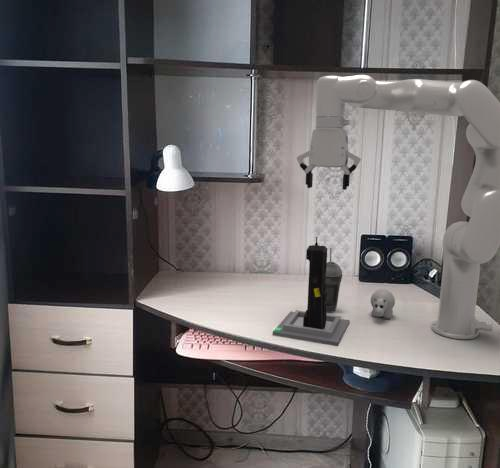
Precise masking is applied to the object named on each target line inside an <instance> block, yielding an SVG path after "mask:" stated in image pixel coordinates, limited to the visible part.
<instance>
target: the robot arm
mask: <svg viewBox="0 0 500 468" xmlns="http://www.w3.org/2000/svg"><path fill="white" fill-rule="evenodd" d="M315 101H316V104H315V106H316V108H315V129H313V130H312V133H311V137H310V144H309V150H308V151H306V152H304V153H302V154H301V155H300V154H299V155H298V156H297V157H296V160H297V162H298V164H299V167H300V168H301V170H302V171H304V173H305V185H306V186H307V189H311V188H312V187H313V182H314V181H313V179H314V178H313V177H314V174H313V170H314V169H315V168H316V167H317V168H341V170H342V171H343V173H344V174H343V175H342V190H344V191H345V190H347V189H348V187H350V177H351V176H350V175H351V174H352V173H353V172H354V171H355V170H356V169H357V168H358V167H359V164H360V163H361V161H362V159H361V157H359V156H357V155H355V154H353V153H352V152H350V151H349V138H348V130H347V129H345V127H346V126H350V124H351V123H350V119H346V117H345V113H346V112H345V111H346V110H345V109H346V104H347V105H348V106H350V107H354V108H360V109H361V108H362V109H371V110H383V111H384V110H385V111H395V112H403V113H417V114H428V115H429V114H431V115H439V116H448V117H463V116H464V118H465V119H466V120H467V122H468V123H469V124H468V125H467V127H466V131H465V135H466V140H467V142H468V143H469V145H470V146H471V147H472V149H473V151H474V155H475V164H474V168H473V170H472V174H471V177H470V179H469V181H468V184H467V187H466V189H465V191H464V193H463V196H462V198H461V204H460V206H461V210H462V211H463V213H464V214H465V215H466V216H468V217H469V221H457V222H454V223H452V224H451V225H449V226H448V227H447V229H446V230H445V232H444V233H443V239H442V254H443V255H442V256H443V259H442V260H443V261H442V263H443V264H442V265H443V266H442V274H441V284H440V294H439V303H438V312H437V320H435V321H433V322H431V324H430V325H431V327H430V328H431V330H432V331H433V332H434V333H436V334H438V335H440V336H443V337H447V338H451V339H454V340H455V339H456V340H472V339H476V338H478V337H479V334H480V331H484V332H491V333H492V332H493V331H492V330H493V324H489V323H487V322H486V321H479V320H477V318H476V307H477V299H478V298H477V297H478V292H479V291H478V289H479V288H478V287H479V281H480V272H481V267H480V266H481V264H485V263H487V262H489V261H490V260H491V259H493V257H495V255H496V253H497V251H498V250H499V248H500V101H499V100H498V98H497V97H496V96H495V95H494V94H493V93H492V91H491V90H490V89H489V88H488V87H487V86H486V85H485V84H483V83H482V82H481V81H478V80H477V79H476V80H475V79H468V80H464V81H461V82H455V81H454V82H453V81H445V80H444V81H443V80H442V81H441V80H433V79H432V80H431V79H424V78H423V79H422V78H412V79H410V78H409V79H404V80H399V81H377V80H375V79H374V78H373V77H372V76H370V75H368V74H356V75H349V76H341V75H323V76H321V77H319V78H318V79H317V83H316V100H315ZM306 158H308V163H309V165H307V164H306V163H305V161H304V160H305V159H306ZM349 159H351V160H353V163H352V165H351V166H350V167H349V166H348V163H349Z"/></svg>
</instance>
